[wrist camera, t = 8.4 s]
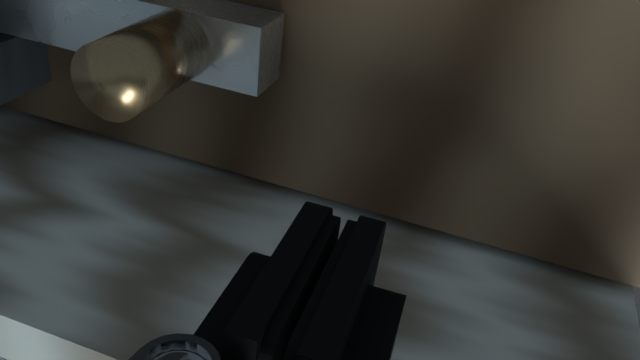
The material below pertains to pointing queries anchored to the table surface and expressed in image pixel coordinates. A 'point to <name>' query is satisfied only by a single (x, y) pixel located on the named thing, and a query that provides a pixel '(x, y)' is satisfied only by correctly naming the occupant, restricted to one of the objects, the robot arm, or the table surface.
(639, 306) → the table surface
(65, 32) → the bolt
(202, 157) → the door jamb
